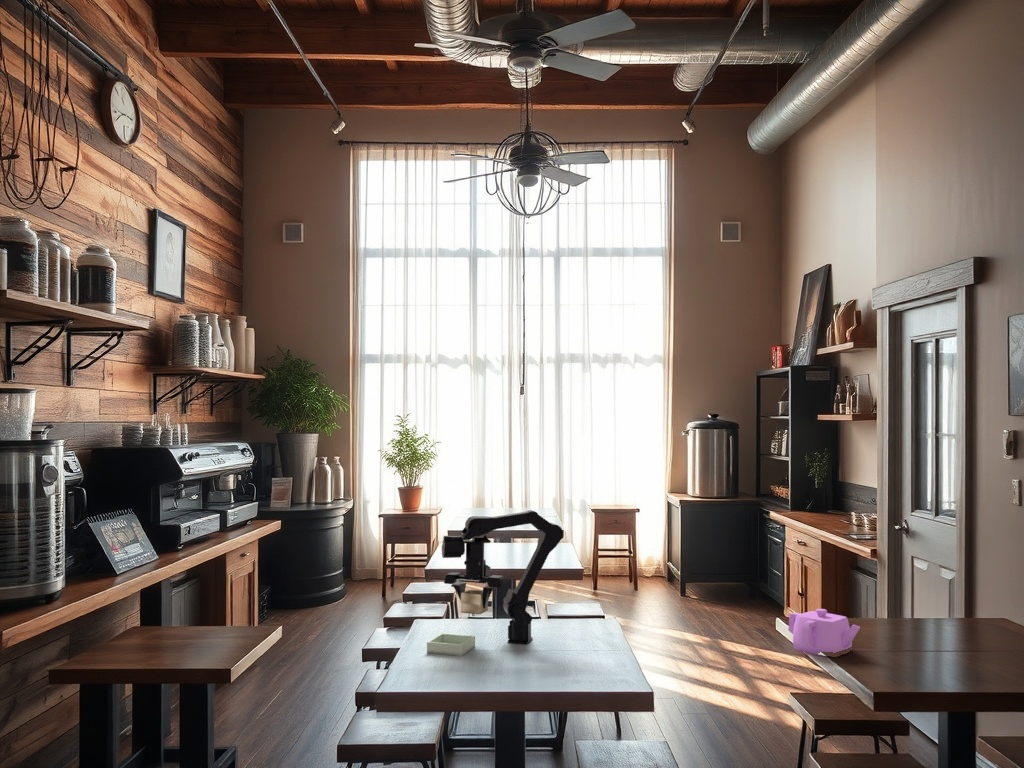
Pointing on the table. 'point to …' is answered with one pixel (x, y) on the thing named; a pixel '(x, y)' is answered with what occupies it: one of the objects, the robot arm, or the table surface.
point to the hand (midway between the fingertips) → (474, 607)
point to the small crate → (472, 602)
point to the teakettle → (821, 632)
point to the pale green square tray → (451, 644)
